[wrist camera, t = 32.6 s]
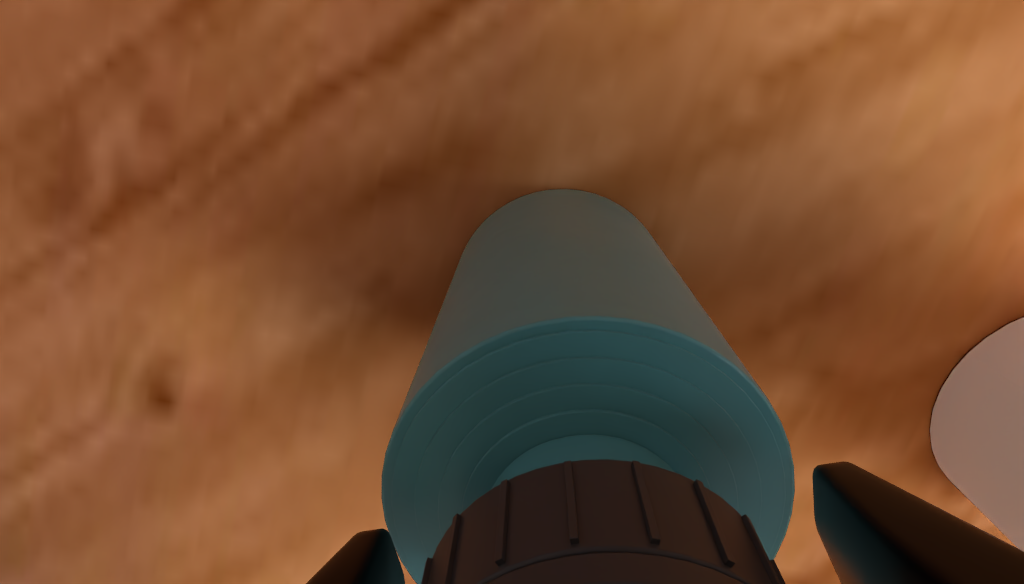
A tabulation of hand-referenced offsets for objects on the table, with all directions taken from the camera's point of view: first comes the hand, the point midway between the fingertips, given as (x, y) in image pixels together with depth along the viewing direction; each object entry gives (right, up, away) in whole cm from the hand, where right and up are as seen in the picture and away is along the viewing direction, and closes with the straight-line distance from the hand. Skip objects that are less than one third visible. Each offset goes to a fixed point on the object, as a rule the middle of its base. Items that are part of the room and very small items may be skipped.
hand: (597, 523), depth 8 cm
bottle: (0, +3, +10) cm, 10 cm away
